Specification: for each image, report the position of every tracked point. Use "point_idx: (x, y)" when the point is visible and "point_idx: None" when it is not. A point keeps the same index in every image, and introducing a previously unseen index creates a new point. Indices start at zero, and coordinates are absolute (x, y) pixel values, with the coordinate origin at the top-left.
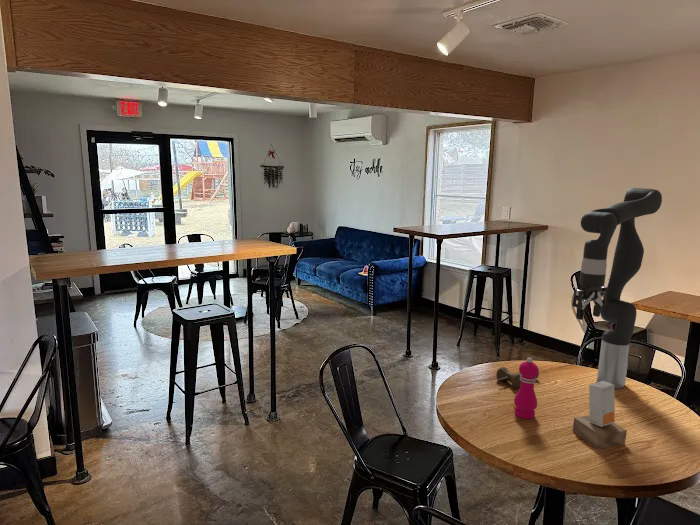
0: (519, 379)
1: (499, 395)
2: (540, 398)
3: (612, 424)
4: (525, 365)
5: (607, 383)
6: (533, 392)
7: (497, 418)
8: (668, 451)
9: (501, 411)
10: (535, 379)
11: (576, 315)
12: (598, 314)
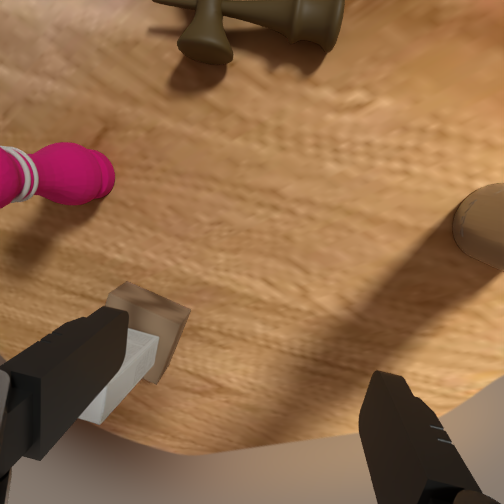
0: (198, 52)
1: (121, 59)
2: (207, 146)
3: (156, 357)
4: None
5: (94, 407)
6: (50, 195)
7: (21, 145)
8: (215, 419)
9: (55, 128)
10: (12, 202)
11: (61, 329)
12: (364, 444)
